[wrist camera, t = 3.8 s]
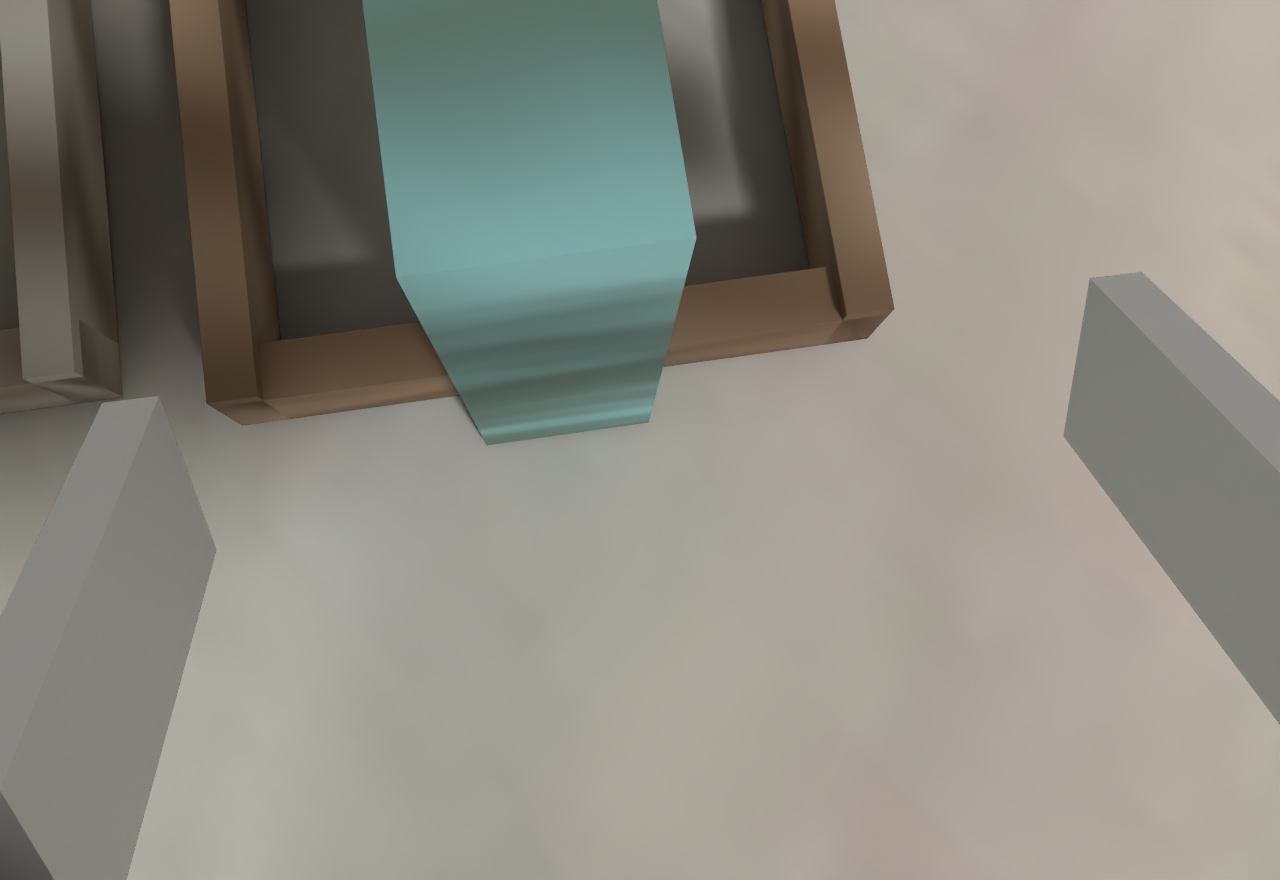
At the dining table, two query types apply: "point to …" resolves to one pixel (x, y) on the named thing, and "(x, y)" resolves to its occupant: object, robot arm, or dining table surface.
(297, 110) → the dining table surface
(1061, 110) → the dining table surface
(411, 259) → the brown open boxy piece
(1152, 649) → the dining table surface
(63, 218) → the block
